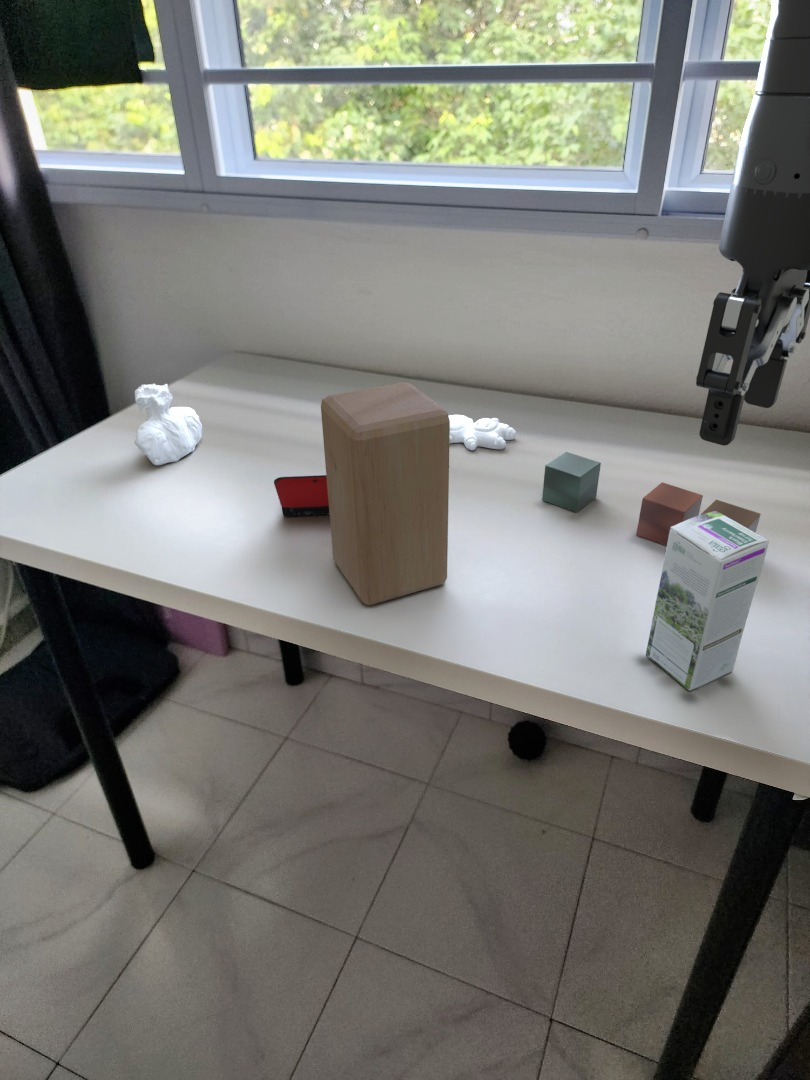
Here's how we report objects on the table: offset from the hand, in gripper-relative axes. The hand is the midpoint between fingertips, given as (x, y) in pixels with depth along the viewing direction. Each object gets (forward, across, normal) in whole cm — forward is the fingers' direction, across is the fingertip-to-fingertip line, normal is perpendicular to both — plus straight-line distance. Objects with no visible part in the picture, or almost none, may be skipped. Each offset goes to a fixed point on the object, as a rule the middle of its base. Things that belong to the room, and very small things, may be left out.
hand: (738, 421), depth 55 cm
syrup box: (+25, +2, 0) cm, 25 cm away
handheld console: (+25, +1, +46) cm, 52 cm away
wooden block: (+25, -5, +31) cm, 40 cm away
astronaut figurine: (+25, +29, +44) cm, 59 cm away
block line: (+25, +22, +14) cm, 36 cm away
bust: (+25, -2, +76) cm, 80 cm away
